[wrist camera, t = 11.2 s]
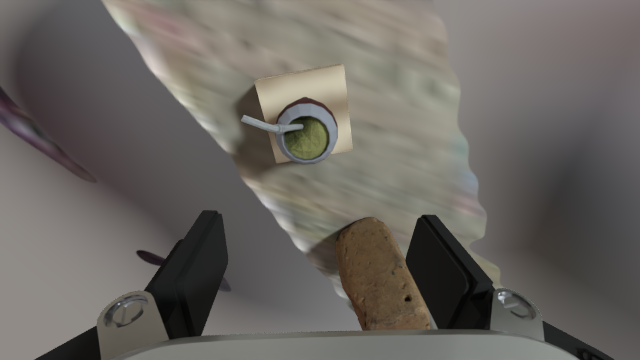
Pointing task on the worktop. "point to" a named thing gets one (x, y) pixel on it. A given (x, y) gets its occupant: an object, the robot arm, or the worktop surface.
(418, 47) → the worktop surface
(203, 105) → the worktop surface
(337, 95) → the maple block
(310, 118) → the mate gourd
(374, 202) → the worktop surface
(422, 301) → the block
